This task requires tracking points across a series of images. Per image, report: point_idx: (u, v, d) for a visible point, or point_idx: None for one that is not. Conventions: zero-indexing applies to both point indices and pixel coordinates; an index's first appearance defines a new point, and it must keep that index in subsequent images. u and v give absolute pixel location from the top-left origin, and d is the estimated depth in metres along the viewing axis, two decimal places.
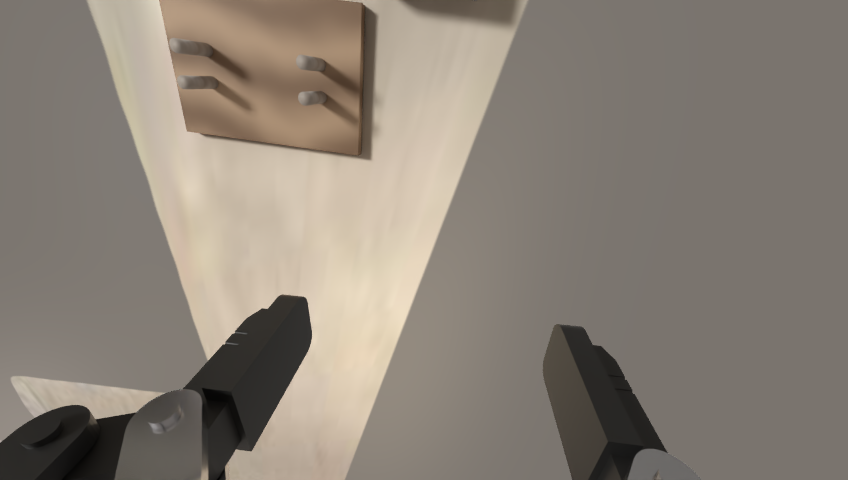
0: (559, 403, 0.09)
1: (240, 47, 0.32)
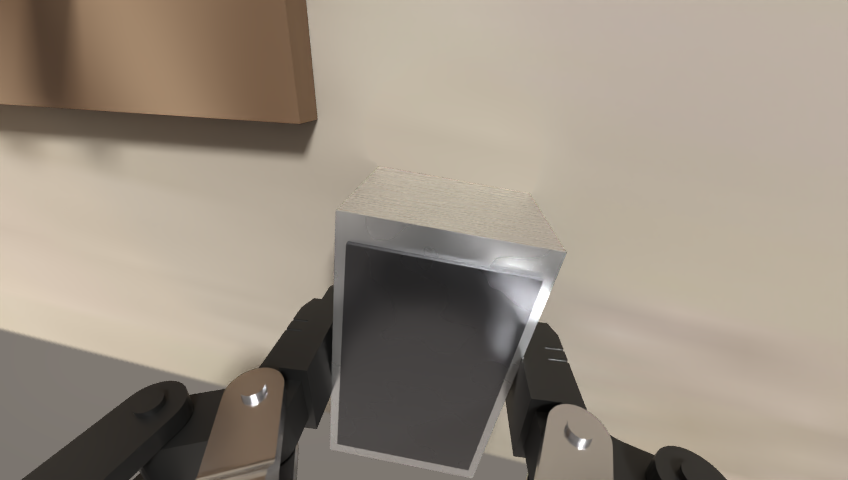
0: None
1: None
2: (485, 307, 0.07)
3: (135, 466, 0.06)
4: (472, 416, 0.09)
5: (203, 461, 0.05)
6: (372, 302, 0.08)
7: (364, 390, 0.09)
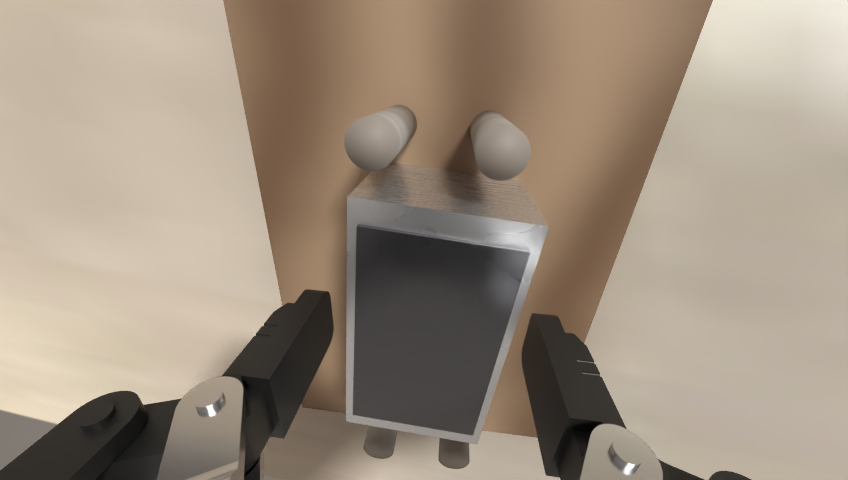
0: (533, 388, 0.09)
1: None
2: (480, 279, 0.08)
3: (87, 478, 0.05)
4: (473, 382, 0.10)
5: (159, 479, 0.05)
6: (380, 278, 0.09)
7: (376, 361, 0.10)
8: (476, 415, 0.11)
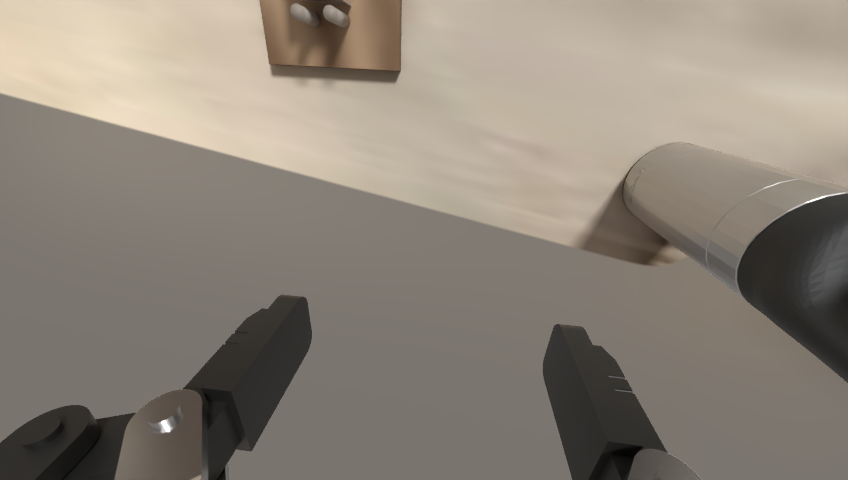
0: (559, 403, 0.09)
1: None
2: None
3: None
4: None
5: None
6: None
7: None
8: None
